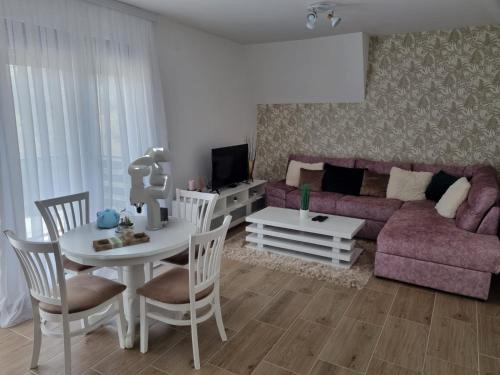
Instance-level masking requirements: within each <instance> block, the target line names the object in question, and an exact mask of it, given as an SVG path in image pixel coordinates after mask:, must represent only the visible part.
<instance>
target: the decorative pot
mask: <svg viewBox="0 0 500 375" xmlns="http://www.w3.org/2000/svg"><path fill="white" fill-rule="evenodd" d="M96 218H97V219H96V225H97V226H98V227H99V228H101V229H103V228H107V229H112V228H113V227H116V226H118V225H119V218H121V216H120V213H119V212H117V210H116V209H114V208H113V209H110V208H105V209H104V210H101V211H97V212H96Z"/></svg>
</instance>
